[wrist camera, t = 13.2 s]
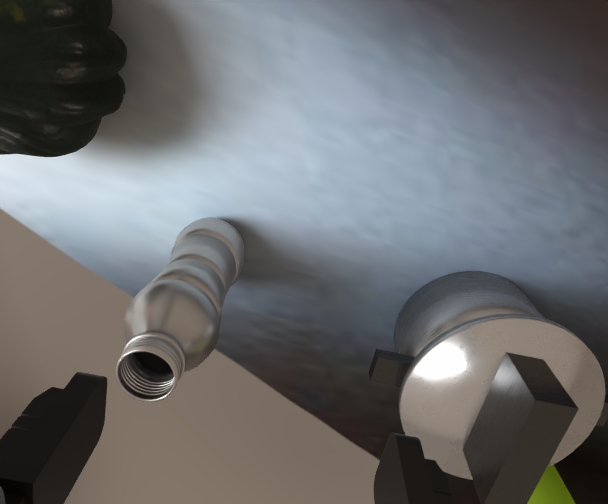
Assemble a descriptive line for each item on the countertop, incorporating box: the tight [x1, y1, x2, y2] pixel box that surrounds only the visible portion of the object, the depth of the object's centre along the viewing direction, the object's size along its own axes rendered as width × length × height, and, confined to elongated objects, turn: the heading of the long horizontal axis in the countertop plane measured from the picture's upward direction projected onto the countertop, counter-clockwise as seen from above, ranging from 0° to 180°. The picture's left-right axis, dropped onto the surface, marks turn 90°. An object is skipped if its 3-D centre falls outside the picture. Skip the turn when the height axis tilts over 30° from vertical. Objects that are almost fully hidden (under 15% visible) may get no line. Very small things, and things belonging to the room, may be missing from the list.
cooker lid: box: [399, 313, 605, 504], centre depth 37 cm, size 16×16×6 cm
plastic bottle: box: [115, 218, 245, 402], centre depth 37 cm, size 6×7×20 cm
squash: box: [0, 0, 127, 157], centre depth 35 cm, size 14×15×15 cm
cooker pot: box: [369, 271, 608, 426], centre depth 45 cm, size 14×21×10 cm
